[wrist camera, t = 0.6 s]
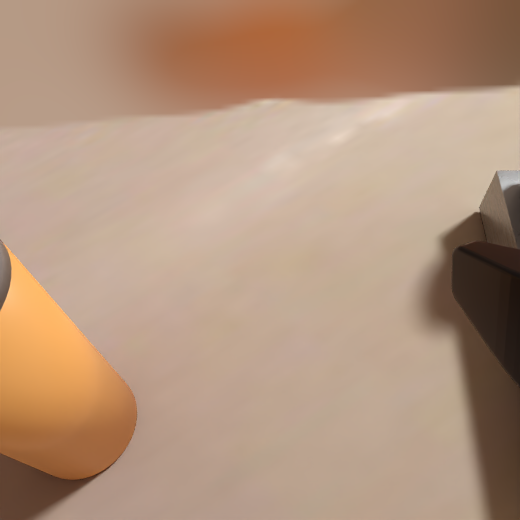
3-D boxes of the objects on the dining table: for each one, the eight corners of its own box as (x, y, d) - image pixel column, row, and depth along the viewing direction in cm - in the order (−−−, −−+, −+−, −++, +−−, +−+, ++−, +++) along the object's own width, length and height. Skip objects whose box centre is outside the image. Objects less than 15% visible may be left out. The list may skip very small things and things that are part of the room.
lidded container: (124, 483, 21) (-59, 380, 10) (14, 476, 22) (-271, 371, 11) (146, 372, 24) (19, 198, 13) (48, 368, 24) (-153, 197, 14)
